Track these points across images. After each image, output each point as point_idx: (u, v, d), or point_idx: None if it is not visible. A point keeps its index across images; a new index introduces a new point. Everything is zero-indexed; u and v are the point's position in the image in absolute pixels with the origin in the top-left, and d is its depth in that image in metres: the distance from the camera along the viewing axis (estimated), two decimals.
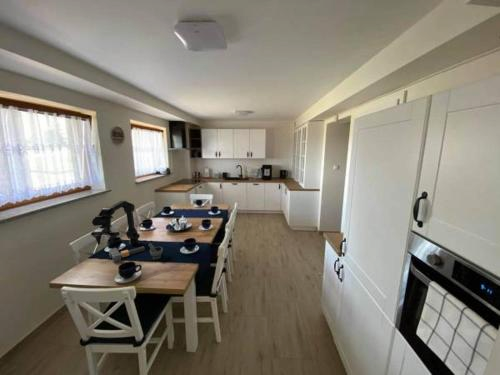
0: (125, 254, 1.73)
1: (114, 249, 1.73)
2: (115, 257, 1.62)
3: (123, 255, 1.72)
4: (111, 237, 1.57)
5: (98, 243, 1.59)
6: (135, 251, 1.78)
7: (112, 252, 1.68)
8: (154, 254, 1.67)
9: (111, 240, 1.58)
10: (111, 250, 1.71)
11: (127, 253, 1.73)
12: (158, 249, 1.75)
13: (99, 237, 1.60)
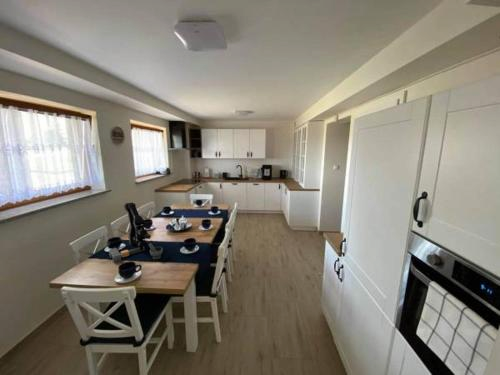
0: (125, 254, 1.72)
1: (114, 249, 1.73)
2: (115, 257, 1.62)
3: (123, 255, 1.72)
4: None
5: None
6: (135, 251, 1.78)
7: (112, 252, 1.68)
8: (154, 254, 1.67)
9: None
10: (111, 250, 1.71)
11: (127, 253, 1.73)
12: (158, 249, 1.75)
13: None
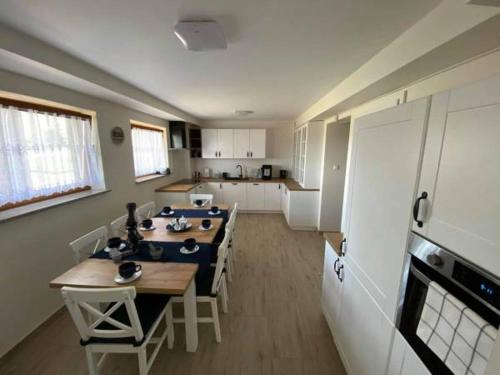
0: None
1: (114, 249, 1.73)
2: (115, 257, 1.62)
3: None
4: None
5: (135, 250, 1.78)
6: (128, 253, 1.74)
7: (112, 252, 1.68)
8: (154, 254, 1.67)
9: None
10: (111, 250, 1.71)
11: None
12: (158, 249, 1.75)
13: None
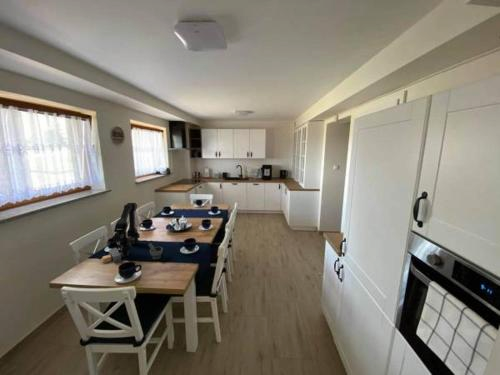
0: (107, 259, 1.64)
1: (114, 249, 1.73)
2: (115, 257, 1.62)
3: (105, 260, 1.63)
4: None
5: None
6: None
7: (112, 252, 1.68)
8: (154, 254, 1.67)
9: None
10: (111, 250, 1.71)
11: (109, 258, 1.65)
12: (158, 249, 1.75)
13: None
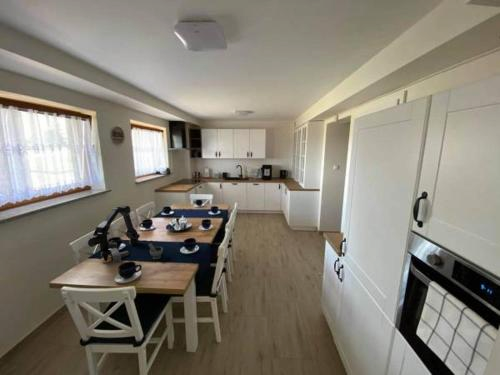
0: (107, 259, 1.64)
1: (114, 249, 1.73)
2: (115, 257, 1.62)
3: None
4: None
5: None
6: None
7: (112, 252, 1.68)
8: (154, 254, 1.67)
9: None
10: (111, 250, 1.71)
11: (109, 258, 1.65)
12: (158, 249, 1.75)
13: None
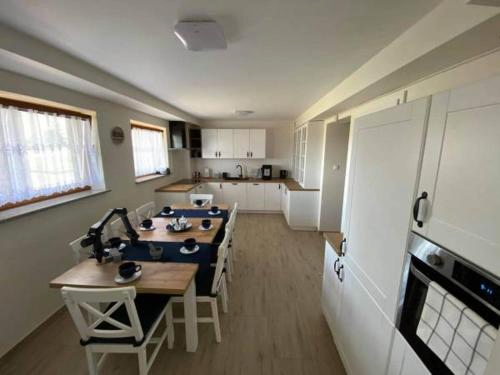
0: None
1: (114, 249, 1.73)
2: (115, 257, 1.62)
3: (98, 262, 1.60)
4: None
5: None
6: None
7: (112, 252, 1.68)
8: (154, 254, 1.67)
9: None
10: (111, 250, 1.71)
11: (103, 260, 1.62)
12: (158, 249, 1.75)
13: None
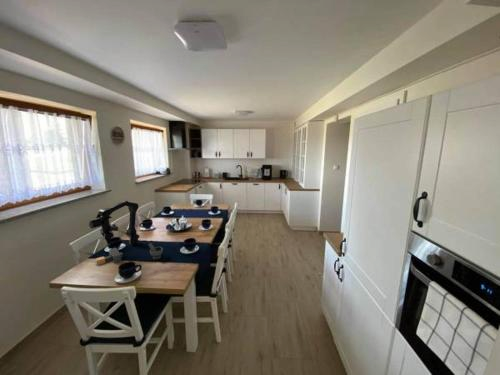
0: (101, 261, 1.61)
1: (114, 249, 1.73)
2: (115, 257, 1.62)
3: (98, 262, 1.60)
4: None
5: None
6: None
7: (112, 252, 1.68)
8: (154, 254, 1.67)
9: None
10: (111, 250, 1.71)
11: (103, 260, 1.62)
12: (158, 249, 1.75)
13: None
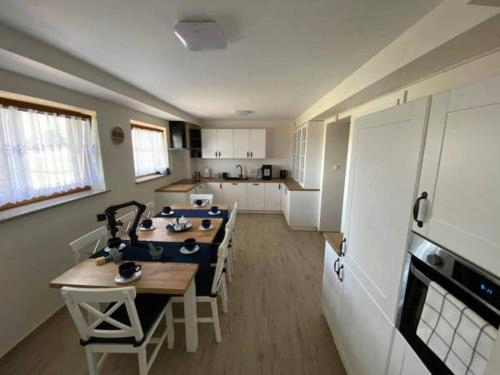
0: (101, 261, 1.61)
1: (114, 249, 1.73)
2: (115, 257, 1.62)
3: (98, 262, 1.60)
4: None
5: (115, 236, 1.79)
6: None
7: (112, 252, 1.68)
8: (154, 254, 1.67)
9: None
10: (111, 250, 1.71)
11: (103, 260, 1.62)
12: (158, 249, 1.75)
13: None
